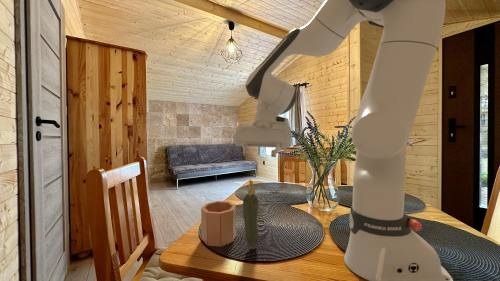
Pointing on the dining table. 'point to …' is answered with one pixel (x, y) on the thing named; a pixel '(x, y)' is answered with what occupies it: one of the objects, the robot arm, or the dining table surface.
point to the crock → (218, 223)
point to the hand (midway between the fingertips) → (259, 155)
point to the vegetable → (251, 216)
